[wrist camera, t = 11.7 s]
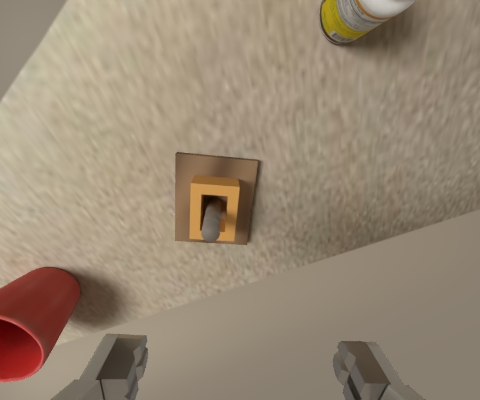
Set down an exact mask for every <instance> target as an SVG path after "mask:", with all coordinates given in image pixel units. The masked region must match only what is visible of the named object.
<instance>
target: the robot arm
mask: <svg viewBox="0 0 480 400" xmlns="http://www.w3.org/2000/svg"><path fill="white" fill-rule="evenodd" d="M146 343H147V336H146V335H127V334H106V335H105V336H104V337H103V339H102V341H101V342H100V344H99V346H98V347H97V349H96V351H95V352H94V354H93V356H92V358H91V359H90V361H89V363H88V365H87V367H86V368H85V370H84V372H83V373H82V375H81V377H80V379H79V380H74V381H73V382H71V383H70V384H69V385H68V386H66V387H65V388H64V389H63V390H62V391H60V392H59V393H58V394H57V395H55V396H54V397H53V398H52V399H51V400H135V398H136V395H137V392H138V381H139V380H140V379H141V378H142V377H143V374H144V371H145V368H146V363H147V359H148V349H147V348H146V347H145V346H146ZM338 349H339V351H338V352H336V353H335V354H334V358H333V367H334V371H335V375H336V377H337V380H338V381H339V382H340V383H341V384H342V385H343V386H344V388H343V394H344V397H345V399H346V400H426V399H424V398H423V397H422V396H421V395H420V394H418V393H417V392H416V391H415V390H414V389H412V388H411V387H410V386H409V385H404V383H403V382H402V380H401V379H400V377H399V375H398V374H397V372H396V371H395V369H394V368H393V366H392V365H391V363H390V362H389V360H388V359H387V357H386V355H385V354H384V353H383V351H382V350H381V348H380V346H379V345H378V344H377V343H376V342H362V341H341V342H339V344H338Z"/></svg>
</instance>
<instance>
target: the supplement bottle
mask: <svg viewBox="0 0 480 400" xmlns="http://www.w3.org/2000/svg"><path fill="white" fill-rule="evenodd" d="M415 1H416V0H322V2H321V5H320V10H319V23H320V28H321V30H322V33H323V34H324V36H325V37H326V38H327V39H328V40H329V41H331V42H333V43H335V44H347V43H350V42H352V41H354V40H356V39H357V38H359V37H361V36H363V35H364V34H366V33H368V32H369V31H371V30H373V29H374V28H376V27H378V26H379V25H381V24H383V23H384V22H386V21H388V20H389V19H391V18H393V17H395V16H396V15H398V14H399V13H401V12H403V11H404V10H406V9H407V8H408V7H410V6H411V5H412V4H413V3H414V2H415Z"/></svg>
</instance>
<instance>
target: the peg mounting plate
mask: <svg viewBox="0 0 480 400" xmlns="http://www.w3.org/2000/svg"><path fill="white" fill-rule="evenodd" d="M257 166H258V160H254V159H244V158H233V157H222V156H212V155H201V154H191V153H180V152H177V153H176V184H175V241H187V242H205V243H222V244H239V245H247V241H248V234H249V226H250V219H251V211H252V204H253V196H254V189H255V181H256V174H257ZM195 175H199V176H211V177H223V178H235V179H238V181H239V186H240V190H239V199H238V209H237V218H236V228H235V238H234V241H218V240H217V239H218V238H219V236H220V220H221V219H225V215H226V203H227V196H217V195H204V201H203V218H204V221H203V226H202V231H201V236H202V238H203V239H204V240H200V239H189V236H190V192H191V182H192V180H193V178H194V176H195Z"/></svg>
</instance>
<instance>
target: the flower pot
mask: <svg viewBox="0 0 480 400" xmlns="http://www.w3.org/2000/svg"><path fill="white" fill-rule="evenodd" d="M80 294H81V292H80V286H79V284H78V282H77V281H76V279H75V278H74V277H73V276H71V275H70V274H69V273H67V272H65V271H63V270H60V269H57V268H51V267H44V268H39V269H36V270H33V271H31V272H29V273H27V274H25V275H24V276H22V277H20V278H18V279H16V280H14V281H13V282H11V283H9V284H7V285H6V286H4V287H2V288H1V289H0V382H11V381H18V380H22V379H25V378H27V377H29V376H31V375H33V374H35V373H36V372H37V371H38V370H39V369H40V368H41V367H42V366H43V364H44V363H45V361H46V359H47V358H48V356H49V354H50V353H51V351H52V349H53V347H54V345H55V344H56V342H57V340H58V338H59V336H60V334H61V332H62V331H63V329H64V327H65V325H66V323H67V321H68V319H69V317H70V315H71V313H72V311H73V310H74V308H75V306H76V304H77V302H78V300H79V298H80Z"/></svg>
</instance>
